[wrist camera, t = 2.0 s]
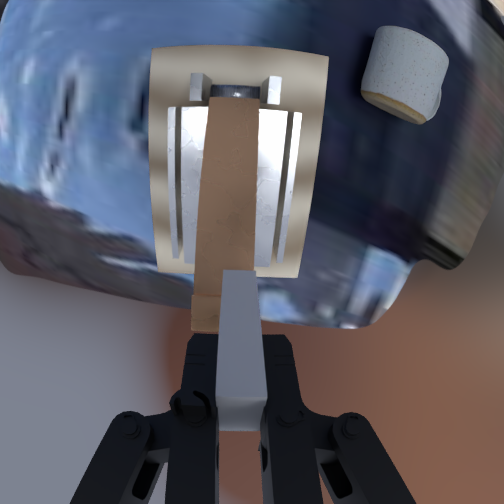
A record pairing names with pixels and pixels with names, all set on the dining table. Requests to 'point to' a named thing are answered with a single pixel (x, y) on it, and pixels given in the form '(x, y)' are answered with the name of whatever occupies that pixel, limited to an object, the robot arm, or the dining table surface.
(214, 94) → the strap
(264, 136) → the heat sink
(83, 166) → the dining table surface
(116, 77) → the dining table surface
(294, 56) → the board
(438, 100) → the ceramic mug
